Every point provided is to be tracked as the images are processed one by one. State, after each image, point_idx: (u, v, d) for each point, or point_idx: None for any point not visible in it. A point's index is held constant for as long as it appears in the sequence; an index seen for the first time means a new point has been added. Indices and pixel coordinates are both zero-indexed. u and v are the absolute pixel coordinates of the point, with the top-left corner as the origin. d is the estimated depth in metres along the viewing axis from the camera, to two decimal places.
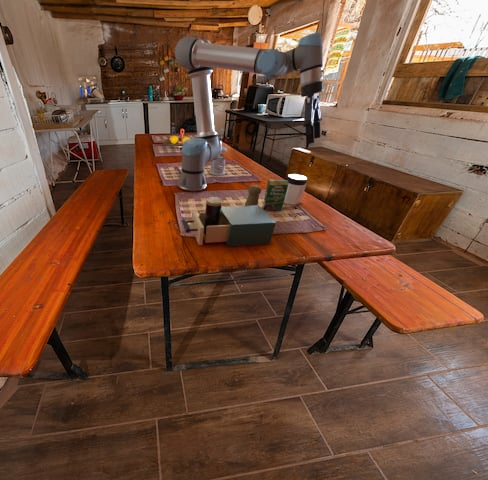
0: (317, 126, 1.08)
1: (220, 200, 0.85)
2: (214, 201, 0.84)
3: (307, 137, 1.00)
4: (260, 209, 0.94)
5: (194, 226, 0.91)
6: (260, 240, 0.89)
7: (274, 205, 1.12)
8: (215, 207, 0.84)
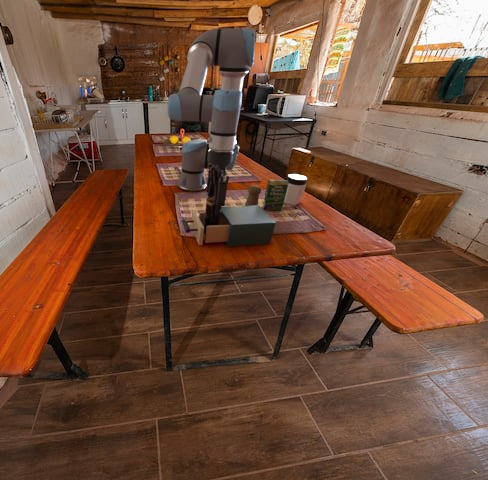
0: None
1: None
2: None
3: None
4: (260, 209, 0.94)
5: (194, 226, 0.91)
6: (260, 240, 0.89)
7: (274, 205, 1.12)
8: None
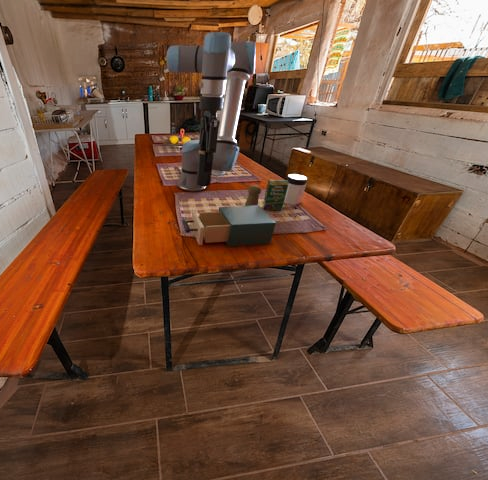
0: None
1: None
2: None
3: None
4: (260, 209, 0.94)
5: (194, 226, 0.91)
6: (260, 240, 0.89)
7: (274, 205, 1.12)
8: None
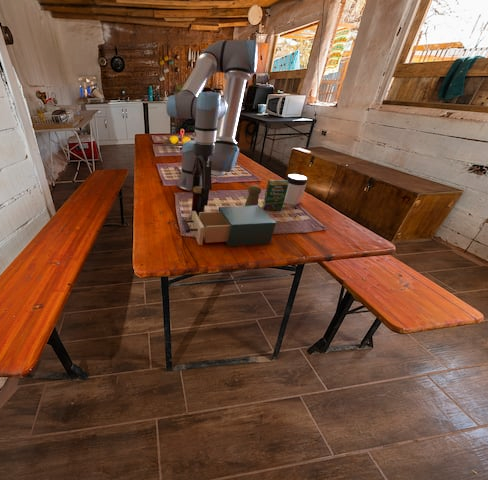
0: None
1: None
2: (199, 189, 0.99)
3: None
4: (260, 209, 0.94)
5: (194, 226, 0.91)
6: (260, 240, 0.89)
7: (274, 205, 1.12)
8: (200, 194, 0.98)
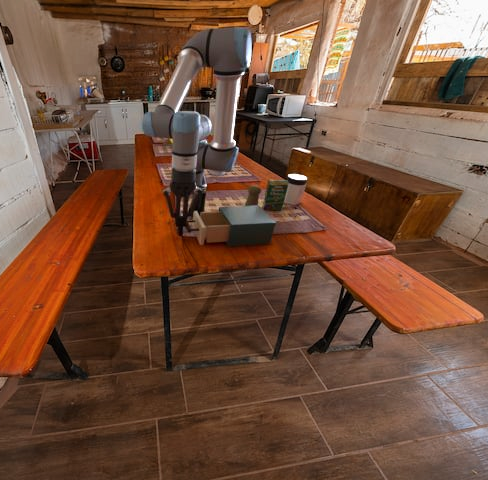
0: None
1: (205, 188, 0.99)
2: None
3: None
4: (260, 209, 0.94)
5: (195, 226, 0.91)
6: (260, 240, 0.89)
7: (274, 205, 1.12)
8: None
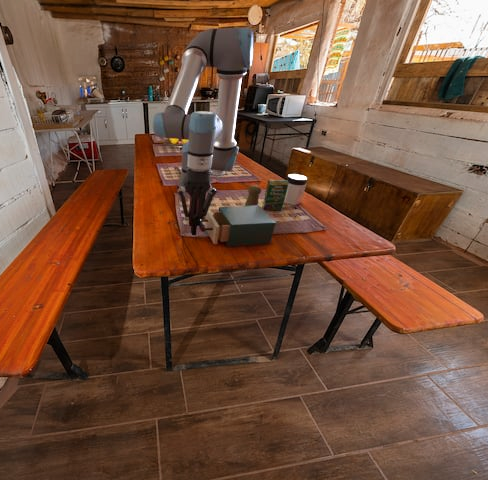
0: None
1: None
2: None
3: (191, 225, 0.91)
4: (260, 209, 0.94)
5: (208, 225, 0.92)
6: (260, 240, 0.89)
7: (274, 205, 1.12)
8: None
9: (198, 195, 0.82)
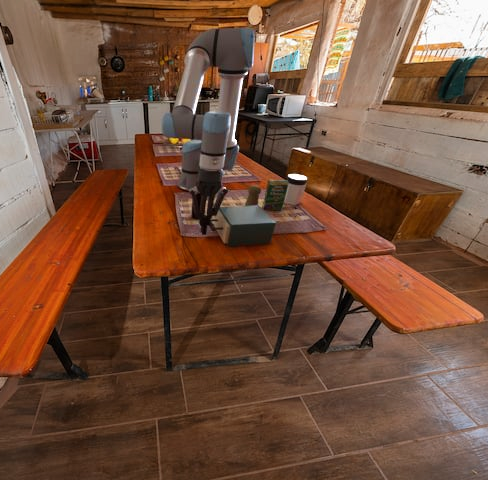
0: None
1: None
2: None
3: None
4: (260, 209, 0.94)
5: (218, 225, 0.92)
6: (260, 240, 0.89)
7: (274, 205, 1.12)
8: (200, 194, 0.98)
9: (209, 195, 0.83)
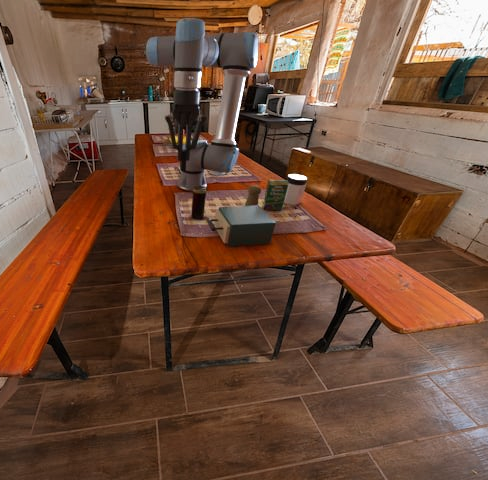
0: None
1: (205, 188, 0.99)
2: (199, 189, 0.99)
3: (180, 161, 0.86)
4: (260, 209, 0.94)
5: (218, 225, 0.92)
6: (260, 240, 0.89)
7: (274, 205, 1.12)
8: (200, 194, 0.98)
9: (187, 122, 0.77)
